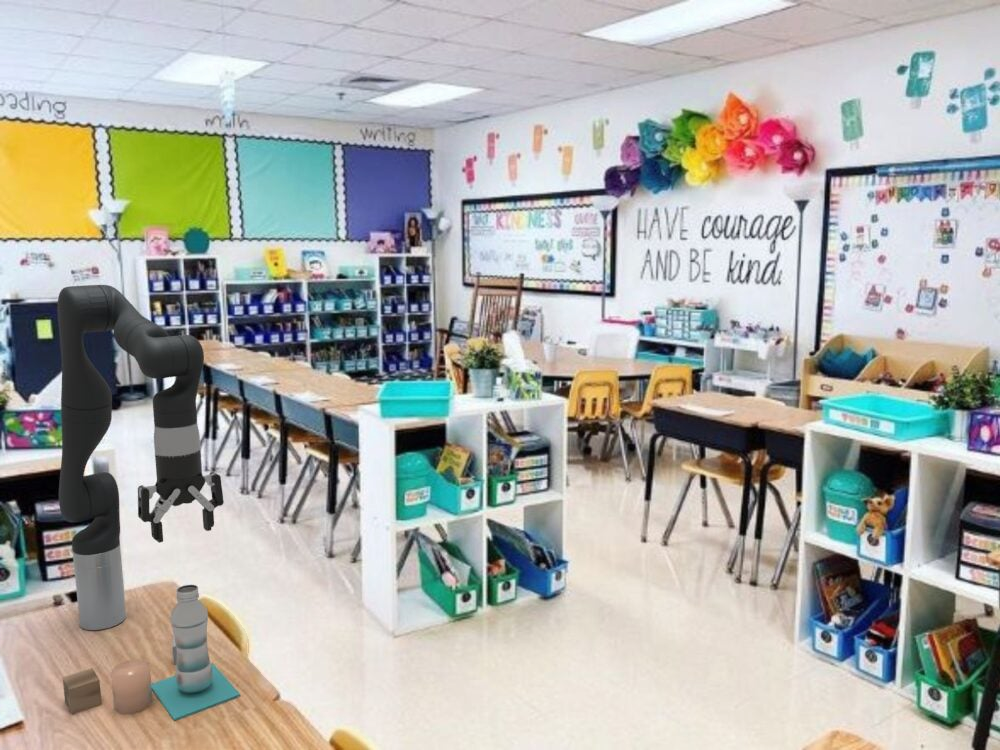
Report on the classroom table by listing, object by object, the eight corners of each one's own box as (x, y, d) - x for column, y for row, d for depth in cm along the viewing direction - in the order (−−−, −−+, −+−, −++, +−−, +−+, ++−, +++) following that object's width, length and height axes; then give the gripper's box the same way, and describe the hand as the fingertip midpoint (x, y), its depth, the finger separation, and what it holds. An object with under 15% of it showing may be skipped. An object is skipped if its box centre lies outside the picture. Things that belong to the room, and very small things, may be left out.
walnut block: (65, 702, 147) (62, 677, 146) (94, 692, 150) (92, 668, 149) (71, 715, 143) (68, 689, 142) (101, 704, 146) (99, 679, 145)
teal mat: (149, 686, 152) (149, 684, 152) (212, 664, 160) (212, 662, 159) (174, 720, 141) (174, 718, 141) (240, 696, 149) (240, 694, 149)
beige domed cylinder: (109, 702, 147) (106, 667, 146) (146, 689, 151) (143, 655, 150) (119, 718, 142) (116, 682, 141) (157, 705, 146) (154, 670, 145)
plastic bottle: (201, 700, 147) (193, 598, 143) (168, 695, 148) (160, 594, 145) (221, 680, 153) (213, 582, 149) (189, 676, 154) (181, 579, 151)
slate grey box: (175, 650, 165) (173, 632, 164) (196, 647, 166) (194, 629, 166) (174, 665, 160) (172, 646, 159) (195, 661, 161) (194, 643, 160)
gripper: (210, 437, 149) (215, 520, 152) (128, 450, 140) (136, 538, 143) (225, 446, 143) (230, 532, 146) (141, 460, 135) (149, 551, 137)
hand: (183, 535), depth 145 cm, fingers open, 8 cm apart
